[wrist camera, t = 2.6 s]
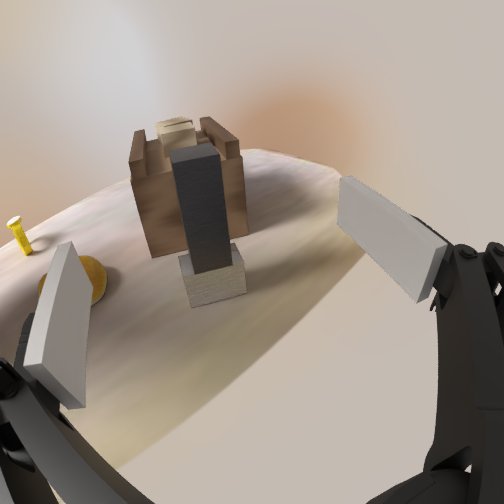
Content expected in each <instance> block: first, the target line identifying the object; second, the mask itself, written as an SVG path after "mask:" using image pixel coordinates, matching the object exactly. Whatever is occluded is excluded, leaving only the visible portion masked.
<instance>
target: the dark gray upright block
mask: <svg viewBox="0 0 504 504" xmlns="http://www.w3.org/2000/svg"><path fill="white" fill-rule="evenodd" d="M169 156H170V162H171V168H172V173H173V179H174V184H175V189H176V195H177V200H178V205H179V210H180V215H181V219H182V224H183V229H184V234H185V238H186V243H187V247H188V252H189V254H186V255H182V256H178V258H179V262H180V267H181V271H182V276H183V280H184V283H185V287H186V290H187V294H188V298H189V301H190V305H191V308H193V307H197V306H201V305H205V304H209V303H213V302H217V301H220V300H224V299H228V298H232V297H235V296H239V295H243V294H246V293H247V289H246V279H245V268H244V260H243V259H242V257H241V255H240V253H239V251H238V249H237V247H236V245H235V243H231V244H230V237H229V229H228V221H227V212H226V203H225V195H224V186H223V177H222V168H221V158H220V153H219V152H218V151H217V150H216V148H215V147H214V146H213V145H212V144H211V143H205V144H200V145H194V146H189V147H184V148H179V149H175V150H170V151H169Z"/></svg>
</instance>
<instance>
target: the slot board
mask: <svg viewBox="0 0 504 504" xmlns="http://www.w3.org/2000/svg"><path fill="white" fill-rule="evenodd" d="M200 125H201V130H200V131H195V133H196V140H197V145H200V144H205V143H211V144H212V145H213V146H214V147H215V148H216V150H217V151H218V152H219V153H220V158H221V168H222V177H223V186H224V195H225V203H226V212H227V221H228V229H229V237H230V239H233V238H237V237H241V236H245V235H248V224H247V211H246V198H245V184H244V171H243V158H242V156H241V155H240V149H239V140H238V139H237V138H236V137H235V136H233V135H232V134H231V133H230V132H228V131H227V130H226V129H225V128H223V127H222V126H221V125H219V124H218V123H217V122H216V121H214V120H213V119H212V118H211V117H203V118H200ZM129 167H130V171H131V180H130V181H131V185H132V189H133V193H134V197H135V201H136V205H137V208H138V212H139V216H140V219H141V223H142V226H143V230H144V233H145V237H146V240H147V243H148V247H149V250H150V253H151V256H152V258H155V257H159V256H163V255H167V254H171V253H175V252H179V251H183V250H187V249H188V247H187V243H186V238H185V234H184V229H183V224H182V219H181V215H180V210H179V205H178V200H177V195H176V189H175V184H174V179H173V173H172V168H171V162H170V157H168V158H165V156H164V151H163V146H162V144H160V143H159V142H158V139H156V140H151V141H146V136H145V130H144V129H143V130H139V131H135V132H134V137H133V142H132V147H131V152H130V157H129Z"/></svg>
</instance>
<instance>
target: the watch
mask: <svg viewBox="0 0 504 504" xmlns="http://www.w3.org/2000/svg"><path fill="white" fill-rule="evenodd" d="M20 222H21V217H20V216H16V217H14V218H12V219H11V220H9V221H8V223H7V227H8V229H12V231H13V233H14V235H15V237H16V240H17V242H18V244H19V246H20V247H21V249H22V251H23V252H24V254H25V255H26V256H27V255H28V254H29V253H31V252H32V249H31V246H30V244H29V241H28V239H27V237H26V235H25V233H24V231H23V229H22V227H21V225H20Z"/></svg>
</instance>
